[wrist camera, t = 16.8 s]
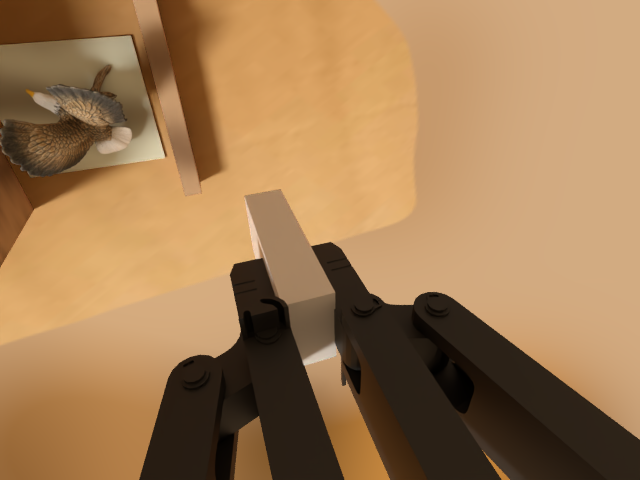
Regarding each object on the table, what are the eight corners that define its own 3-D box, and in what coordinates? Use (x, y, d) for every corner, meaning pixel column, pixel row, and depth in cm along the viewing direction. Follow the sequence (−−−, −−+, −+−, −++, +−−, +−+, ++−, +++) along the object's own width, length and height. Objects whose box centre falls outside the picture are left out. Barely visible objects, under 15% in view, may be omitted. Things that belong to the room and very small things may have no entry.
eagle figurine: (49, 35, 28) (13, 54, 21) (151, 84, 32) (148, 113, 25) (24, 129, 30) (-16, 174, 23) (121, 163, 34) (111, 211, 27)
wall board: (-211, -182, 20) (-456, -284, 12) (117, -167, 24) (92, -238, 16) (14, 212, 34) (-32, 283, 26) (200, 182, 38) (208, 236, 30)
